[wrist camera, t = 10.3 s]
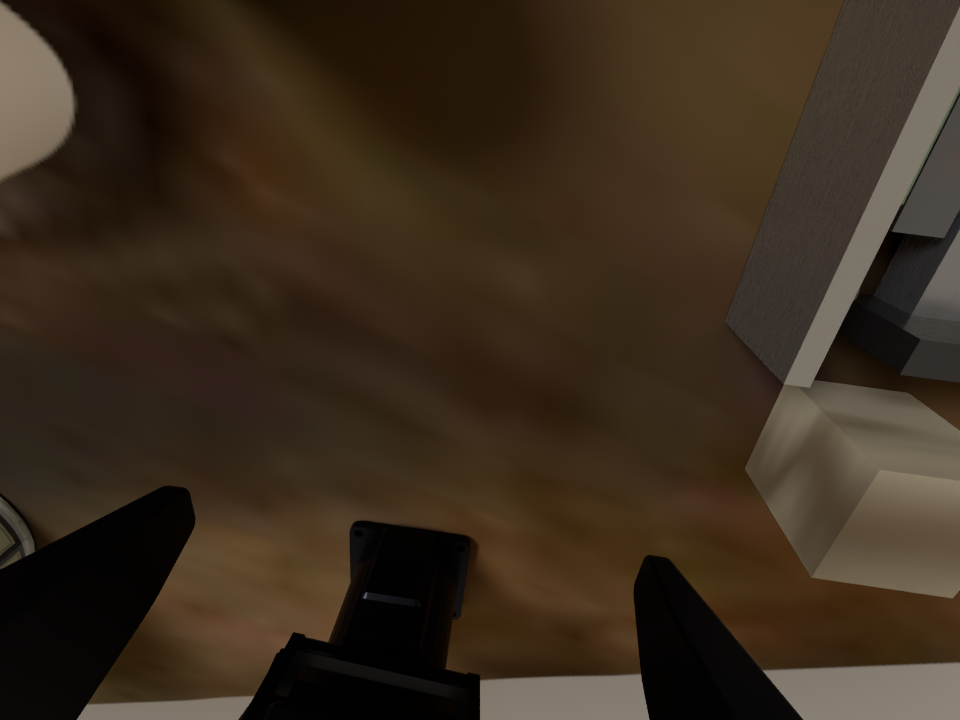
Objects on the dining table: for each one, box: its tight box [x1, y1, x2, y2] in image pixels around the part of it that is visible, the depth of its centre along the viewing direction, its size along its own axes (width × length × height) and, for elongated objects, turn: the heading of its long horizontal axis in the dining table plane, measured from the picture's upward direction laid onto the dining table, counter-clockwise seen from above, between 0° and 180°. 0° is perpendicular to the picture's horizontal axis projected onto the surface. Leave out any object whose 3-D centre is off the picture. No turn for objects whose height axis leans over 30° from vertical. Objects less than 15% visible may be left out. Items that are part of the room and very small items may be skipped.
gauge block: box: [745, 380, 960, 598], centre depth 19 cm, size 5×5×6 cm
